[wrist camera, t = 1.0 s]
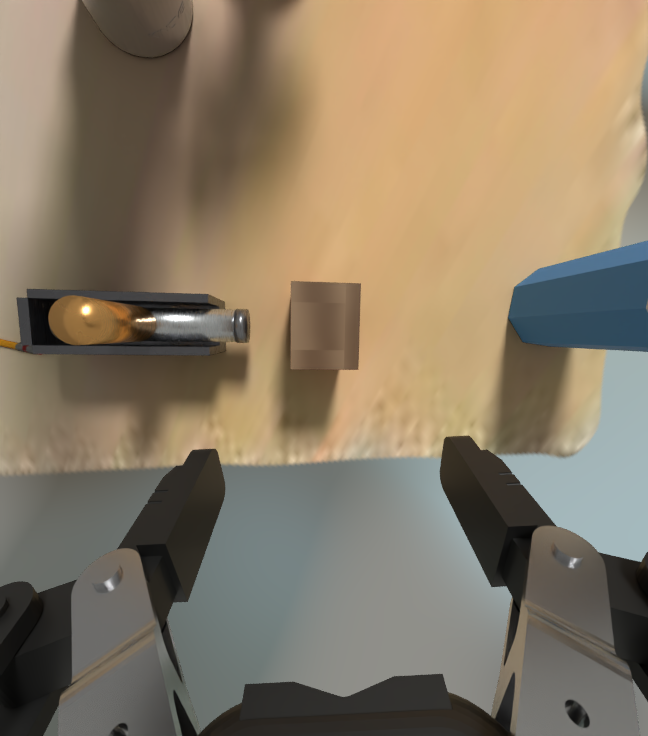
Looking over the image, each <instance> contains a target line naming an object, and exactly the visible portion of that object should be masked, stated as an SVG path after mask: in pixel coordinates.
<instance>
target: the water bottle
mask: <svg viewBox="0 0 648 736" xmlns="http://www.w3.org/2000/svg"><path fill="white" fill-rule="evenodd" d="M508 318H509V320H510V322H511V323H512V325H513V327H514V328H515V330H516V332H517V333H518V335H519V337H520V338H521V340H522V342H525V343H531V344H537V345H543V346H550V347H568V348H587V349H606V350H624V351H625V350H626V351H643V352H648V241H644V242H641V243H637V244H633V245H629V246H625V247H621V248H617V249H613V250H609V251H606V252H602V253H598V254H594V255H590V256H586V257H582V258H579V259H575V260H571V261H567V262H563V263H559V264H555V265H552V266H548V267H544V268H540V269H538V270H537V271H535V272H534V273H533V274H531V275H530V276H529V277H527V278H526V279H525V280H523V281H522V282H521V283H519V284H518V285H517V286H515V287H514V292H513V297H512V301H511V306H510V311H509V316H508Z"/></svg>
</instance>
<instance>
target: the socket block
mask: <svg viewBox="0 0 648 736" xmlns="http://www.w3.org/2000/svg"><path fill="white" fill-rule="evenodd" d="M360 292H361V284H358V283H329V282H299V281H291V369H302V370H358V360H359V326H360Z"/></svg>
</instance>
